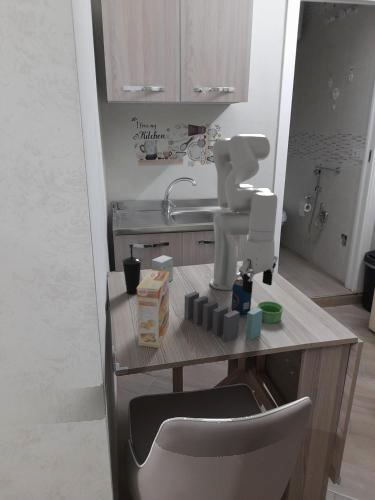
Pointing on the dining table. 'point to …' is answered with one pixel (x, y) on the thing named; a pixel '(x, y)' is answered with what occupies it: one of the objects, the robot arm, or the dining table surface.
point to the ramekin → (270, 311)
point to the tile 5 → (219, 320)
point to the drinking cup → (132, 273)
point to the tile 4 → (209, 314)
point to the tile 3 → (199, 310)
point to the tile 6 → (230, 326)
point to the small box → (163, 265)
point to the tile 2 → (190, 305)
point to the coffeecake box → (153, 308)
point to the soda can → (240, 299)
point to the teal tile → (254, 323)
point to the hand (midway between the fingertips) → (257, 288)
